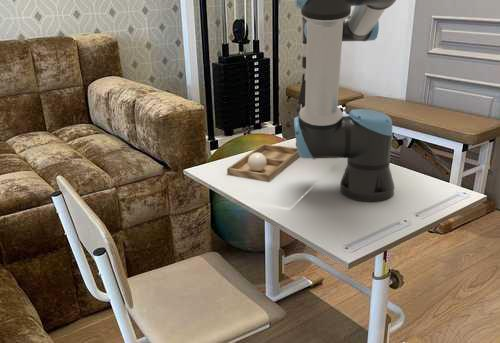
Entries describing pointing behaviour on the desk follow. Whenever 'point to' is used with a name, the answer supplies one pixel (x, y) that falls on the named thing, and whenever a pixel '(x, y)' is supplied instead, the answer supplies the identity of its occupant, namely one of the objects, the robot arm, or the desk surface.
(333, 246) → the desk surface
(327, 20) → the robot arm
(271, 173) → the wooden tray
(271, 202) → the desk surface
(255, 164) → the ceramic ball
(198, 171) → the desk surface
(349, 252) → the desk surface
